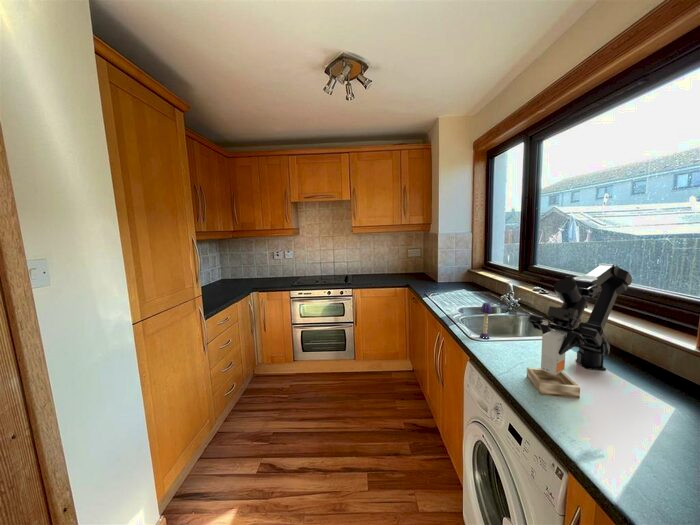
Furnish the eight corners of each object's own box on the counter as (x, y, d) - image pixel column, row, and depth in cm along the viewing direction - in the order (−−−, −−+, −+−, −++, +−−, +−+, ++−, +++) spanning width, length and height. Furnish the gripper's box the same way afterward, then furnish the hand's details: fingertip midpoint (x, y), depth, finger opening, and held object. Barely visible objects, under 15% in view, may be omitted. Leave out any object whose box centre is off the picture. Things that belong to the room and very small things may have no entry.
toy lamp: (490, 336, 129) (491, 302, 127) (491, 340, 125) (492, 304, 123) (479, 335, 131) (480, 301, 129) (479, 338, 127) (480, 304, 125)
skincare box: (555, 375, 84) (557, 338, 83) (540, 370, 88) (541, 334, 86) (565, 370, 87) (567, 334, 85) (550, 364, 91) (551, 329, 89)
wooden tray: (561, 379, 92) (561, 369, 91) (579, 398, 82) (580, 387, 81) (526, 377, 94) (527, 367, 94) (540, 395, 84) (541, 384, 84)
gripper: (531, 291, 94) (511, 329, 91) (600, 303, 78) (579, 349, 74) (543, 309, 99) (524, 345, 95) (610, 324, 83) (591, 368, 79)
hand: (551, 351), depth 86 cm, fingers closed on skincare box, 4 cm apart
